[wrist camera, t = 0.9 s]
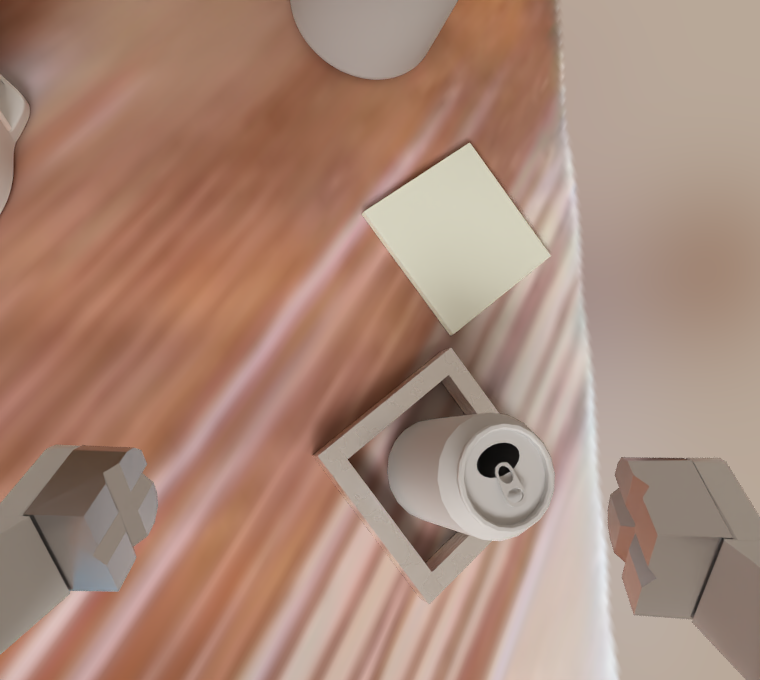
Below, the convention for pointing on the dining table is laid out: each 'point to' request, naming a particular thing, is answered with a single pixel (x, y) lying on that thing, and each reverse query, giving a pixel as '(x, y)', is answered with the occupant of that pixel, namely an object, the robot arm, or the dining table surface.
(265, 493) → the dining table surface
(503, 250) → the tile
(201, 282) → the dining table surface
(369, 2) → the cylinder vase
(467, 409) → the square picture frame
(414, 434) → the can
